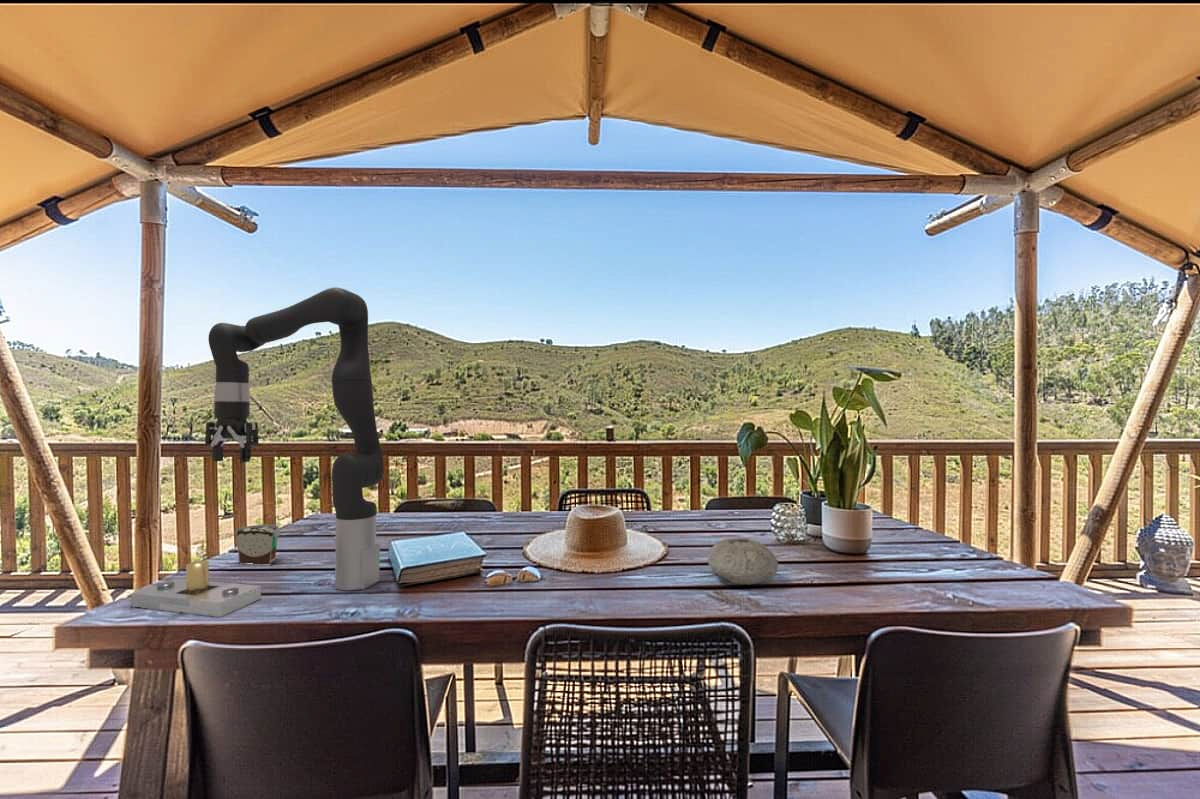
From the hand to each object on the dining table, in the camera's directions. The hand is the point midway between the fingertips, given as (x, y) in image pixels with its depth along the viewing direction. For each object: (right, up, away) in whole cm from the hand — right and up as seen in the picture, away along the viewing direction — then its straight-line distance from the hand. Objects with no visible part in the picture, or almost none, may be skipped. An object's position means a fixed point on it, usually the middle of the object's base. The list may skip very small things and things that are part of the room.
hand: (231, 461), depth 131 cm
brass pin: (+6, -30, -18) cm, 35 cm away
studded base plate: (+5, -30, -18) cm, 35 cm away
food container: (0, -30, +12) cm, 33 cm away
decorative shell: (+135, -31, 0) cm, 138 cm away
